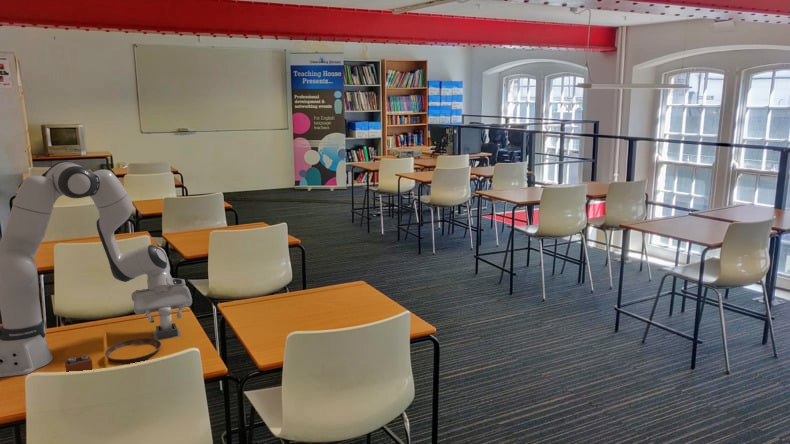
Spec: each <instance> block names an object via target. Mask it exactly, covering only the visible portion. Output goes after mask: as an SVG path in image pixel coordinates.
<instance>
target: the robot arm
mask: <svg viewBox="0 0 790 444" xmlns="http://www.w3.org/2000/svg"><path fill="white" fill-rule="evenodd" d="M61 196H65V197H67V198H70V199H82V198H86V197H90V200H92V201H93V203H94V205H95V207H96V208H97V211H98V215H99V217H98V219H97V220H96V229H97V232H98V237H99V239H100V242H101V244H102V247H103V250H104V252H105V255H106V257H107V260H108V263H109V267H110V272H111V274H112V276H113V278H114V279H116V280H118V281H120V282H124V283H127V282H130V281H132V280H134V279H135V278H138V277H140V276H143V275H146V277H147V279H146V284H147V288H143V289H136V290H134V291H133V292H132V293H131V294H130V295H131V296H130V297H131V300H132V302H133V311H134V313H135V315H145V317H146V318H147V319H149V320H148V321H149V323H150V324H151V323H155V317H154V315H153V316H151V314H150V313H155V312H159V311H158V309H159V308H161V307H167V306H169V307H171V310H175V309H176V310H177V309H178V312H176V319H182V312H183V310H184V308H186V307H187V308H188V307H191V306H192V304H193V298H192V294H191V292H190V291H191V290H190V289H189V287H188V286H187V285H186V281H185V279H183V278H175V277H172V275H171V273H170V272H171V266H170V261H169V257H168V256H167V253H166V251H165V249H163V248H162V247H160V246H156V245H154V244H149V245H145V246H143V247H139V248H137V249H134V250H131V251H128V252H126V253H123V252H121V250H120V247H119V245H118V242H117V239H116V237H115V231H117V230H118V228H120V226H122V225H123V224H124V223H126V222H127V221H128V220H129V218H130V217H131V215H132V213H133V208H134V204H133V202H132V199H131V196H130V195H129V193H128V191H127V190H126V188H125V186H124V185H123V184H122V182H121V181H120V180H119V178H118V177H117V176H116V175H115V173H114V172H112V171H111V170H109V169H97V170H94V171H91V170H89V169H87V168H86V167H83V166H82V165H80V164H79V163H78V164H77V163H75V162H71V161H59V162H55V163H54V164H53V165H51V166H50V167H49V168H48V170H46V171H45V172H44V173H42V174H41V175H30V176H27V177H25V178H24V180H23V181H22V183H21V185H20V187H19V189H18V190H17V192H16V195H15V197H14V199H13V203H12V207H11V209H10V213H9V217H8V220H7V223H6V227H5V228H4V232H3V234H2V236H1V239H0V315H1V322H2V323H0V378H3V377H13V376H21V375H27V374H30V373H32V372H33V371H35V370H38V369H40V368H43V367H44V366H47V365H48V364H50V363H52V361H53V359H54V357H53V355H52V353H51V351H50V349H49V345H48V342H47V339H46V334H47V333H46V326H45V325H46V324H45V321H44V319H43V318H42V307H41V303H40V288H39V286H40V285H39V275H38V267H37V263H36V262H35V259H36V258H35V257H36V256H37V253H38V250H39V248H40V246H41V244H42V241H43V240H44V238H45V235H46V233H47V229H48V226H49V222H50V220H51V216H52V212H53V210H54V205H55V204H56V202H57V200H58V199H59V198H60V197H61Z"/></svg>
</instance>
